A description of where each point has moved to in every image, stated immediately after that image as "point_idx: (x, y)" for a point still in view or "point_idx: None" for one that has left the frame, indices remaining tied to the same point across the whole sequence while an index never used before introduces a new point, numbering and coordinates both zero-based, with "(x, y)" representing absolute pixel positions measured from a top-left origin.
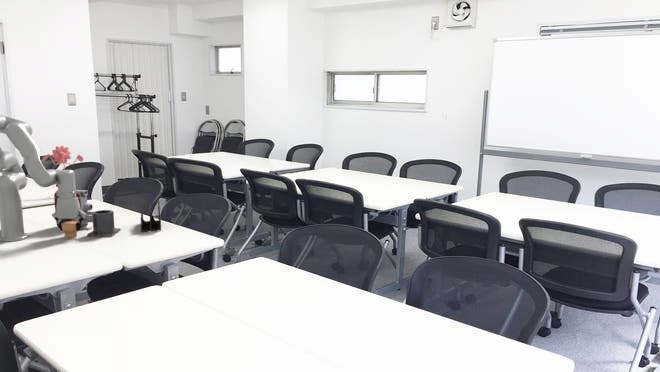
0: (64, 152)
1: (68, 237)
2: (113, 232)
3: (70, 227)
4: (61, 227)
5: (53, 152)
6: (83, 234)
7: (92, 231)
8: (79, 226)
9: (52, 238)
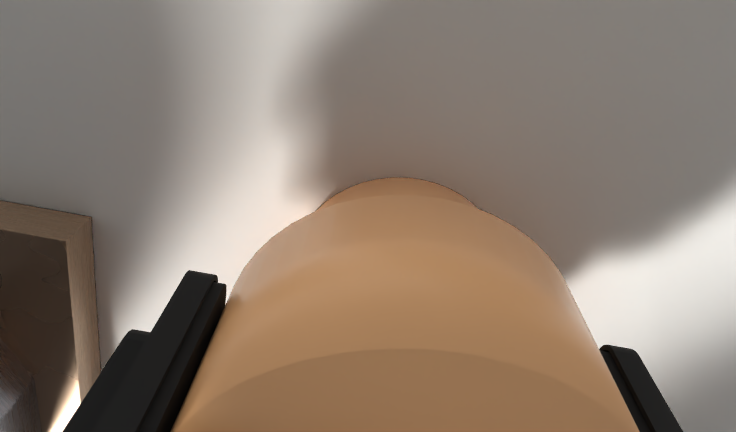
0: None
1: (419, 185)
2: None
3: (331, 284)
4: None
5: None
6: None
7: (67, 405)
8: (112, 372)
9: (725, 226)
